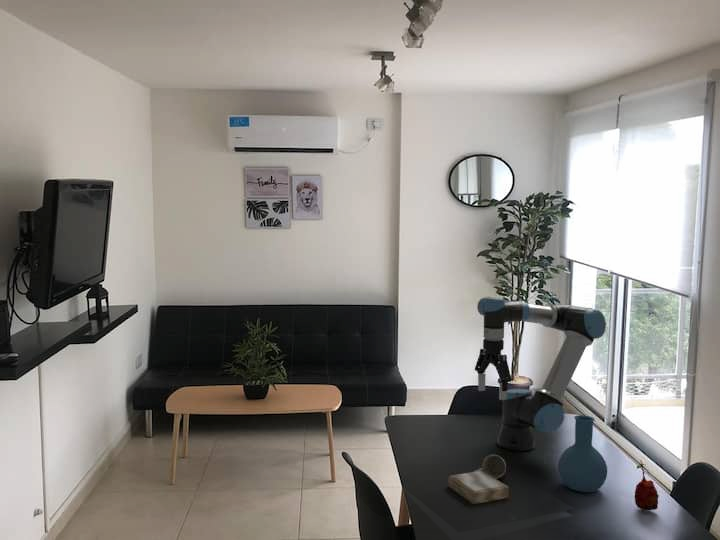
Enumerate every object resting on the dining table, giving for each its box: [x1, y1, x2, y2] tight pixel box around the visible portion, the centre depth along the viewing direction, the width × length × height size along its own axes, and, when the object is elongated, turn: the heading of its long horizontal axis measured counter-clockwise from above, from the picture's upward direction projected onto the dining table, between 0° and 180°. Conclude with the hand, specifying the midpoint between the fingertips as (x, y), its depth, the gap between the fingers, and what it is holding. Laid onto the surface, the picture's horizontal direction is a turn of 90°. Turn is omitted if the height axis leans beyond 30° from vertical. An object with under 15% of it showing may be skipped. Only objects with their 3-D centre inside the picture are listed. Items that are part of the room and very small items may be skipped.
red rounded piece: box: [634, 460, 660, 511], centre depth 215 cm, size 8×7×15 cm
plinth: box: [448, 470, 510, 505], centre depth 226 cm, size 14×16×4 cm
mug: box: [473, 454, 507, 480], centre depth 239 cm, size 8×13×10 cm
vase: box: [557, 414, 608, 493], centre depth 230 cm, size 16×16×25 cm
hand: (491, 394), depth 245 cm, fingers open, 13 cm apart
